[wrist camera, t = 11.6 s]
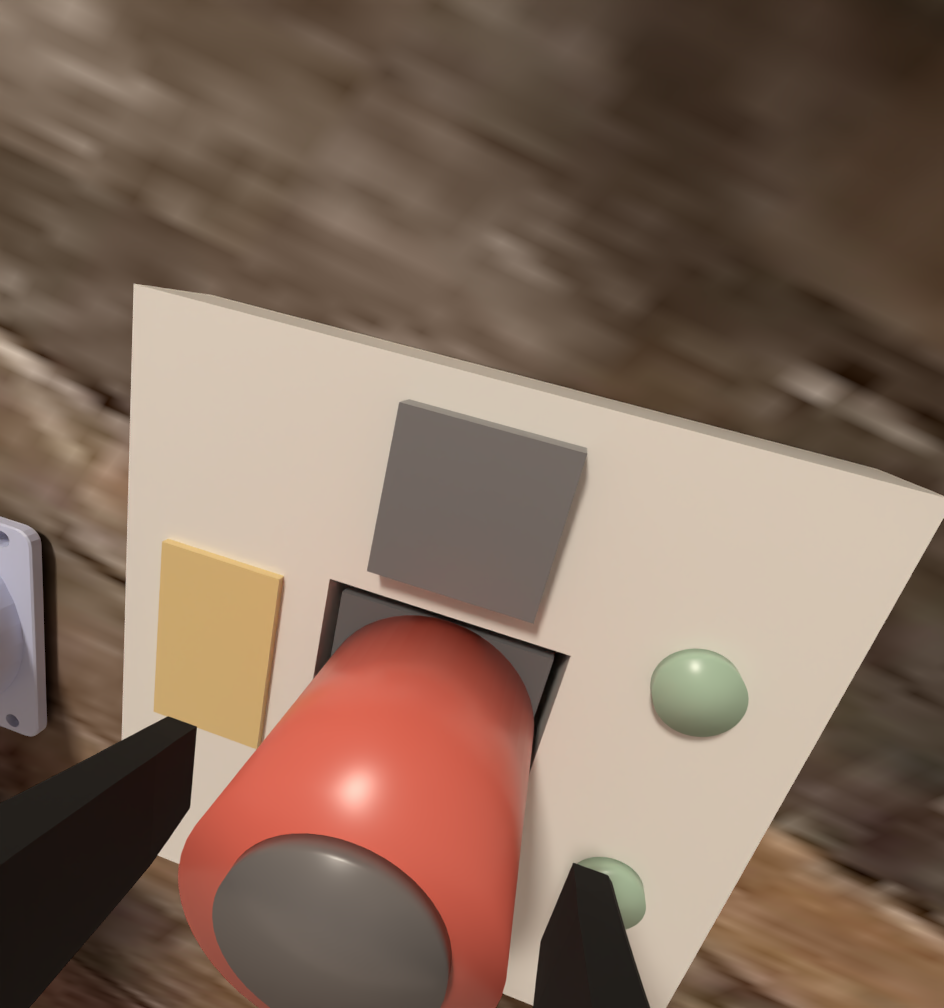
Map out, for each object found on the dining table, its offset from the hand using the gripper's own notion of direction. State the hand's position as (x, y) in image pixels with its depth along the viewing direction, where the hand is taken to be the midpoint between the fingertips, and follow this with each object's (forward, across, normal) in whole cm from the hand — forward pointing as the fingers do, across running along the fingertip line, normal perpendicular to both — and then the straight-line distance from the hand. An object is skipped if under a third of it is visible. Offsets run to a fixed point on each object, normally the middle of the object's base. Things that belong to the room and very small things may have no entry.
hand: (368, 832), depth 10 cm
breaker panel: (+6, 0, 0) cm, 6 cm away
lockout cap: (+3, 0, 0) cm, 3 cm away
